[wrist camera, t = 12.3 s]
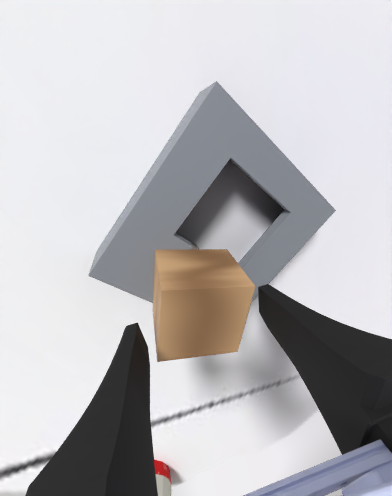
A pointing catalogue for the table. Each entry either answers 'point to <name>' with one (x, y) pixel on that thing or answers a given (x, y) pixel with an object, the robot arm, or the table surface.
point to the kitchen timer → (162, 478)
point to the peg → (198, 303)
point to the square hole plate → (193, 188)
